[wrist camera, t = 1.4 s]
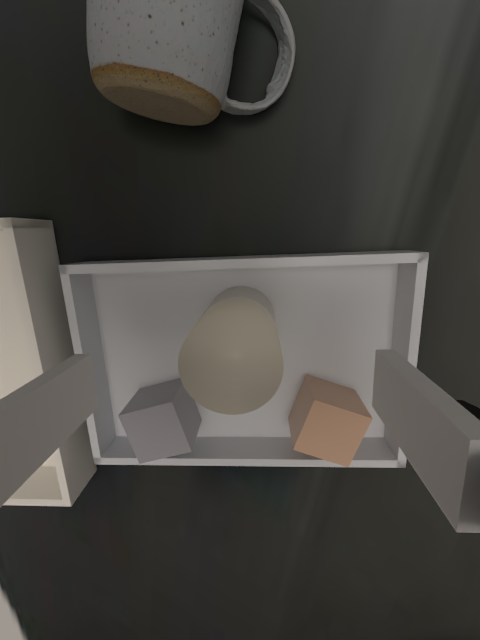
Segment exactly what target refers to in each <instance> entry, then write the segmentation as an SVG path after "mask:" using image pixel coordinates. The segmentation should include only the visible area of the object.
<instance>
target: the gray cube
mask: <svg viewBox="0 0 480 640" xmlns="http://www.w3.org/2000/svg"><path fill="white" fill-rule="evenodd" d="M118 417H119V419H120V421H121V424H122V426H123V428H124V430H125V433H126V435H127V437H128V439H129V442H130V444H131V446H132V448H133V451H134V453H135V455H136V457H137V460H138V462H139V464H141V463H145V462H150V461H154V460H158V459H163V458H167V457H171V456H176V455H180V454H184V453H189V452H192V449H193V446H194V443H195V440H196V437H197V434H198V430H199V427H200V424H201V421H202V419H201V416H200V413H199V411H198V408H197V405H196V403H195V400H194V399H193V398H192V397H191V396H190V395H189V394H188V392H187V391H186V389H185V388H184V386H183V384H182V382H181V379H180V378H177V379H174V380H170V381H166V382H162V383H159V384H155V385H151V386H147V387H144V388H140V389H139V390H138V391H137V392H136V393H135V395H134V396H133V397H132V399H131V400H130V401H129V402H128V404H127V405H126V406H125V407H124V409H123V410H122V411H121V412H120V414H119V415H118Z"/></svg>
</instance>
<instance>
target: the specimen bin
mask: <svg viewBox="0 0 480 640" xmlns="http://www.w3.org/2000/svg"><path fill="white" fill-rule="evenodd" d="M58 265H60V261H59V256H58V250H57V245H56V239H55V234H54V228H53V223H52V220H40V219H26V218H11V217H9V218H0V399H2V398H3V397H5V396H7V395H8V394H10V393H12V392H13V391H15V390H17V389H18V388H20V387H22V386H23V385H25V384H26V383H28V382H30V381H31V380H33V379H35V378H36V377H38V376H40V375H41V374H43V373H45V372H46V371H48V370H49V369H51V368H53V367H54V366H56V365H58V364H59V363H61V362H63V361H64V360H66V359H68V358H69V357H71V356H72V355H74V349H73V344H72V338H71V333H70V327H69V322H68V316H67V311H66V305H65V300H64V294H63V289H62V283H61V278H60V272H59V267H58ZM96 470H97V467H96V464H94V459H93V454H92V448H91V443H90V437H89V432H88V426H87V421H86V420H85V421H84V422H83V423H82V424H81V425H80V426H79V427H78V428H77V429H76V430H75V431H74V432H73V434H72V435H71V436H70V437H69V438H68V439H67V440H66V441H65V442H64V443H63V444H62V445H61V446H60V447H59V448H58V449H57V450H56V451H55V452H54V453H53V454H52V455H51V456H50V457H49V458H48V459H47V460H46V461H45V462H44V463H43V464H42V465H41V466H40V467H39V468H38V469H37V470H36V471H35V472H34V473H33V474H32V475H31V476H30V477H29V479H28V480H27V481H26V482H25V483H24V484H23V485H22V486H21V487H20V488H19V489H18V490H17V491H16V492H15V493H14V494H13V495H12V496H11V497H10V498H9V499H8V500H7V501H6V502H5V503H4V504H3V505H27V506H72V505H73V503H74V502H75V500H76V499H77V498H78V496H79V495H80V493H81V492H82V490H83V489H84V488H85V486H86V485H87V483H88V482H89V480H90V479H91V478H92V476H93V475H94V473H95V472H96Z"/></svg>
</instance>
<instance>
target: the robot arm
mask: <svg viewBox="0 0 480 640" xmlns="http://www.w3.org/2000/svg"><path fill="white" fill-rule="evenodd" d="M98 407H99V404H98V398H97V391H96V385H95V379H94V372H93V366H92V360H91V354H74V355H72V356H71V357H69V358H68V359H66V360H64V361H63V362H61V363H59V364H58V365H56V366H54V367H53V368H51V369H49V370H48V371H46V372H45V373H43V374H41V375H40V376H38V377H36V378H35V379H33V380H31V381H30V382H28V383H26V384H25V385H23V386H22V387H20V388H18V389H17V390H15V391H13V392H12V393H10V394H8V395H7V396H5V397H3V398H2V399H0V507H1V506H2V505H3V504H4V503H5V502H6V501H7V500H8V499H9V498H10V497H11V496H12V495H13V494H14V493H15V492H16V491H17V490H18V489H19V488H20V487H21V486H22V485H23V484H24V483H25V482H26V481H27V480H28V479H29V477H30V476H31V475H32V474H33V473H34V472H35V471H36V470H37V469H38V468H39V467H40V466H41V465H42V464H43V463H44V462H45V461H46V460H47V459H48V458H49V457H50V456H51V455H52V454H53V453H54V452H55V451H56V450H57V449H58V448H59V447H60V446H61V445H62V444H63V443H64V442H65V441H66V440H67V439H68V438H69V437H70V436H71V435H72V434H73V432H74V431H75V430H76V429H77V428H78V427H79V426H80V425H81V424H82V423H83V422H84V421H85V420H86V419H87V418H88V417H89V416H90V415H91V414H92V413H93V412H94V411H95V410H96V409H97V408H98ZM372 407H373V408H374V410H375V411H376V413H377V414H378V416H379V417H380V419H381V420H382V422H383V423H384V425H385V426H386V428H387V429H388V431H389V432H390V434H391V435H392V437H393V438H394V440H395V441H396V443H397V444H398V446H399V447H400V449H401V450H402V452H403V453H404V455H405V456H406V458H407V459H408V461H409V462H410V464H411V465H412V467H413V468H414V470H415V471H416V473H417V474H418V476H419V477H420V479H421V480H422V482H423V483H424V485H425V486H426V488H427V489H428V491H429V492H430V493H431V495H432V496H433V498H434V499H435V501H436V502H437V504H438V505H439V507H440V508H441V510H442V511H443V513H444V514H445V516H446V517H447V519H448V520H449V522H450V523H451V525H452V526H453V528H454V529H455V531H456V532H467V533H480V409H479V408H478V407H476V406H473V405H471V404H469V403H467V402H465V401H463V400H454V399H453V398H452V397H451V396H450V395H448V394H447V393H446V392H445V391H443V390H442V389H441V388H440V387H439V386H437V385H436V384H435V383H434V382H433V381H431V380H430V379H429V378H428V377H426V376H425V375H424V374H423V373H422V372H420V371H419V370H418V369H417V368H416V367H414V366H413V365H412V364H411V363H409V362H408V361H407V360H406V359H405V358H403V357H402V356H401V355H400V354H399V353H397V352H396V351H395V350H394V349H383V350H376V352H375V367H374V382H373V397H372Z"/></svg>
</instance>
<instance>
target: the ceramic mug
mask: <svg viewBox="0 0 480 640" xmlns="http://www.w3.org/2000/svg"><path fill="white" fill-rule="evenodd" d="M248 1H249V2H250V3H252V4H253V5H254V6H255V7H256V8H257V9H258V10H259V11H260V12H261V13H262V14H263V15H264V16H265V17H266V19H267V20H268V21H269V22H270V24H271V26H272V28H273V30H274V32H275V35H276V38H277V40H278V52H279V55H278V59H277V62H276V66H275V70H274V74H273V77H272V80H271V83H270V84H268V86H267V89H266V92H267V95H266V98H265V99H264V100H262V101H259V102H256V103H253V104H252V103H244V102H238V101H236V100H231V99H229V98H228V97H227V90H228V86H229V81H230V75H231V69H232V62H233V54H234V48H235V43H236V38H237V33H238V28H239V22H240V17H241V13H242V7H243V2H244V0H87V21H86V29H87V49H88V58H89V64H90V70H91V76H92V79H93V82H94V84H95V86H96V87H97V89H98V90H99V91H100V93H101V94H102V95H103V96H104V97H105V98H107V99H108V100H109V101H111V102H112V103H114V104H116V105H117V106H119V107H121V108H124V109H126V110H128V111H131V112H133V113H136V114H138V115H141V116H144V117H148V118H151V119H155V120H159V121H163V122H167V123H173V124H178V125H189V126H196V125H205V124H208V123H210V122H211V121H213V120H214V119H215V118H216V117H218V115H219V113H220V111H221V110H223V111H225V112H228V113H230V114H234V115H252V114H255V113H258V112H261V111H263V110H265V109H267V108H268V107H269V106H271V105H272V104H273V103H275V102H276V101H277V99H278V98H279V97H280V96H281V95H282V94H283V92H284V90H285V88H286V87H287V85H288V82H289V79H290V76H291V73H292V69H293V65H294V59H295V38H294V33H293V29H292V26H291V24H290V21H289V18H288V16H287V14H286V12H285V10H284V9H283V7H282V5H281V4H280V2H279V1H278V0H248Z"/></svg>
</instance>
